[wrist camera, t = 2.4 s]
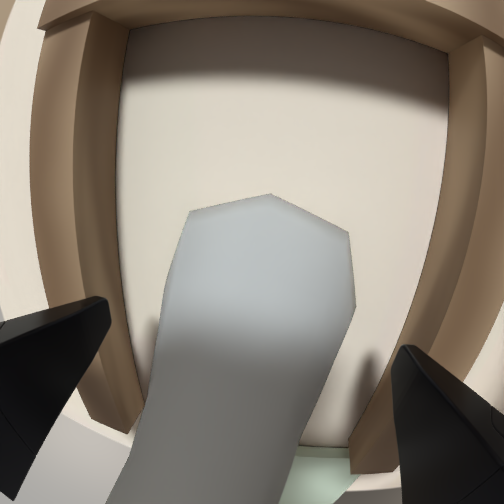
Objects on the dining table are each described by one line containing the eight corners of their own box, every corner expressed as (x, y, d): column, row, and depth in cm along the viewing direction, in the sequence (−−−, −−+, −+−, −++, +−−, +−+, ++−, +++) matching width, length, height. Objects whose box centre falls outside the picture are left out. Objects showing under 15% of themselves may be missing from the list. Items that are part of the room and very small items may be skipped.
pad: (373, 447, 13) (374, 457, 12) (328, 500, 17) (328, 507, 16) (209, 431, 14) (205, 441, 14) (212, 487, 18) (210, 494, 17)
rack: (492, 36, 5) (532, 18, 3) (386, 438, 13) (393, 478, 10) (92, 7, 7) (50, -12, 5) (110, 392, 15) (87, 424, 12)
